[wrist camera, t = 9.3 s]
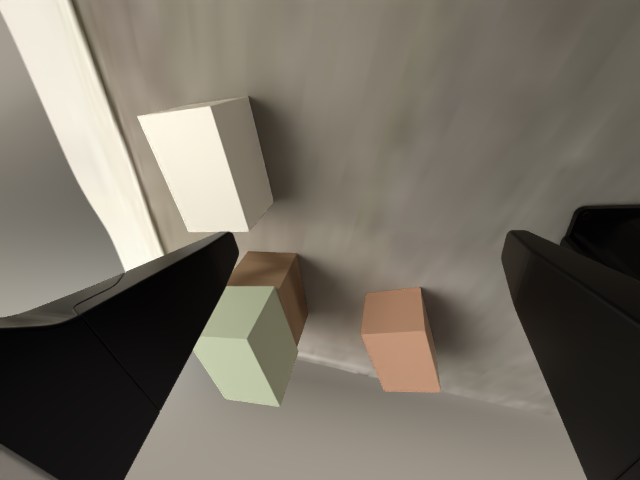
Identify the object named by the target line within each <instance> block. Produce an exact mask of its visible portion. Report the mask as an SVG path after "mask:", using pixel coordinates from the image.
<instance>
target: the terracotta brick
mask: <svg viewBox="0 0 640 480" xmlns="http://www.w3.org/2000/svg"><path fill="white" fill-rule="evenodd" d="M361 337H362V339H363V342H364V344H365V346H366V349H367V351H368V354H369V356H370V358H371V361H372V363H373V366H374V368H375V370H376V373H377V375H378V377H379V380H380V382H381V385H382V387H383V389H384V391H393V392H395V391H396V392H397V391H398V392H441V388H440V381H439V374H438V366H437V359H436V352H435V345H434V341H433V337H432V333H431V329H430V324H429V320H428V316H427V312H426V308H425V304H424V300H423V296H422V292H421V288H420V287H416V288H407V289H399V290H390V291H381V292H373V293H366V295H365V303H364V311H363V319H362V327H361Z"/></svg>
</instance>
